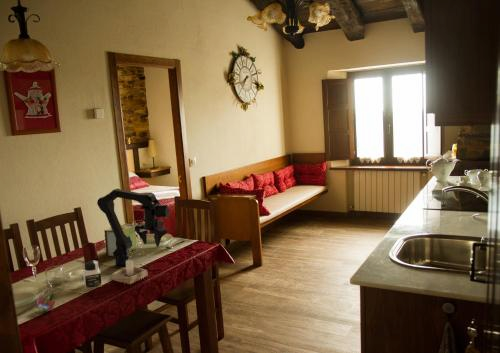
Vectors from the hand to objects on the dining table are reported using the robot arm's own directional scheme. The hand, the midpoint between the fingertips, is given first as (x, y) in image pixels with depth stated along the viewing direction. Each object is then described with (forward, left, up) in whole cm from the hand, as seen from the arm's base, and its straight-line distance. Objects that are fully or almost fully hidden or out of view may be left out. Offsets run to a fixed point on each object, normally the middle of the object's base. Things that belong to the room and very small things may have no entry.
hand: (151, 245), depth 224 cm
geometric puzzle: (-35, -47, -12) cm, 60 cm away
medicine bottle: (-24, -22, -12) cm, 35 cm away
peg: (-8, -14, -12) cm, 20 cm away
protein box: (-23, +24, -12) cm, 36 cm away
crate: (-8, -14, -12) cm, 20 cm away
